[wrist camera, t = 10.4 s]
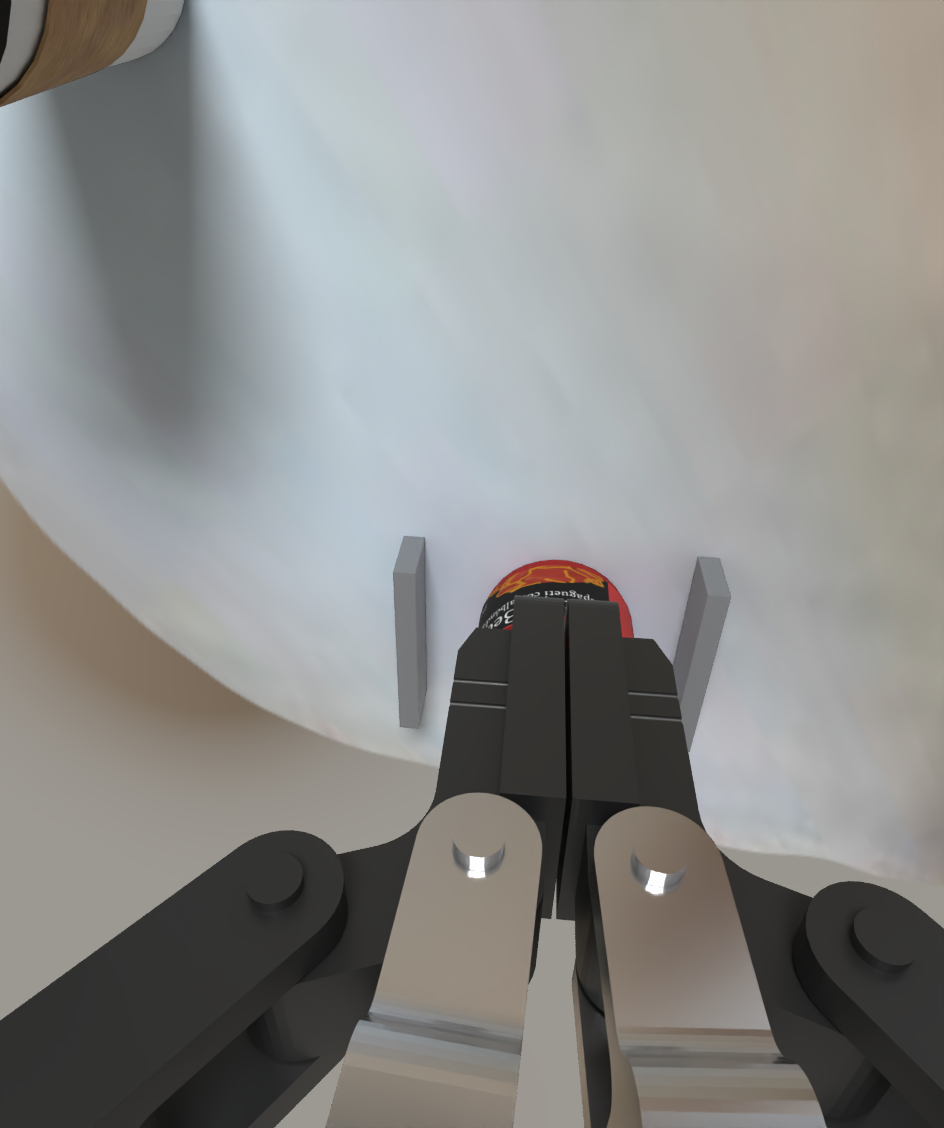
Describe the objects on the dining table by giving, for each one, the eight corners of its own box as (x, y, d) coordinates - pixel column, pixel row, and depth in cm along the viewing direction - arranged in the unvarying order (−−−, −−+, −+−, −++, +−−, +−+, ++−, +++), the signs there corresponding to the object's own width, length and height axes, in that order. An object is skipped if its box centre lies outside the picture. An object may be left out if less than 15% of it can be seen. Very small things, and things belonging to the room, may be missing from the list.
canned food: (609, 537, 37) (625, 705, 28) (647, 661, 41) (672, 842, 32) (457, 574, 39) (426, 742, 30) (508, 688, 43) (495, 866, 34)
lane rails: (719, 558, 37) (731, 597, 34) (682, 709, 42) (689, 751, 40) (404, 536, 38) (393, 572, 35) (408, 687, 43) (399, 727, 41)
